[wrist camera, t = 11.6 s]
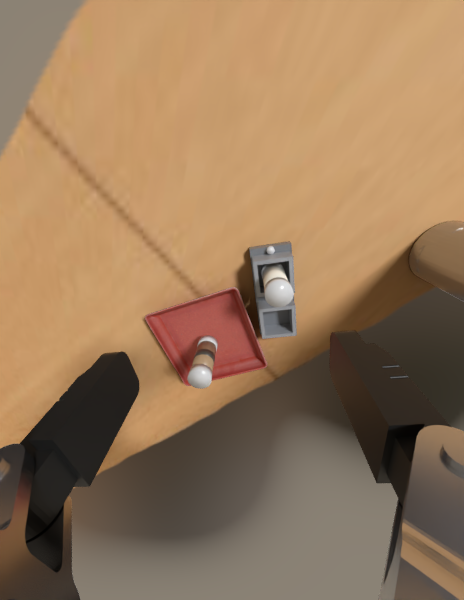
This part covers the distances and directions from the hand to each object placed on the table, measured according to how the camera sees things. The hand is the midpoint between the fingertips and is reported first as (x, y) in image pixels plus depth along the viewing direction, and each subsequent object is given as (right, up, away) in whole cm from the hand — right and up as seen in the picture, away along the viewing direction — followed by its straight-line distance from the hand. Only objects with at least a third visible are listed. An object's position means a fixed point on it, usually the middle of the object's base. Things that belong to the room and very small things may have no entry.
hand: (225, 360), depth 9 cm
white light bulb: (+7, +7, +28) cm, 30 cm away
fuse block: (+7, +4, +31) cm, 32 cm away
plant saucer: (-4, -4, +37) cm, 37 cm away
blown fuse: (-4, -6, +34) cm, 34 cm away
